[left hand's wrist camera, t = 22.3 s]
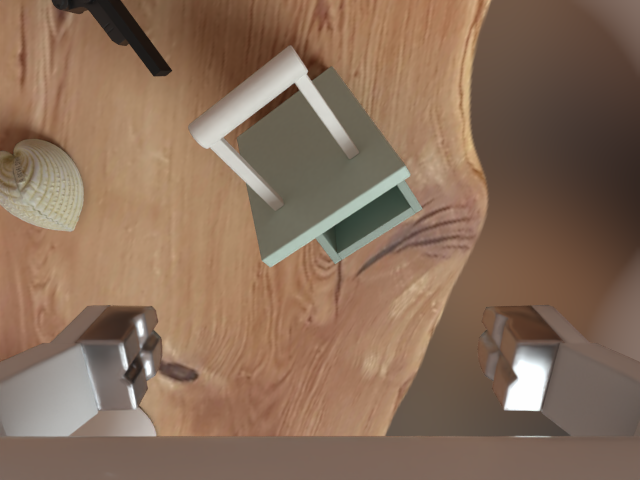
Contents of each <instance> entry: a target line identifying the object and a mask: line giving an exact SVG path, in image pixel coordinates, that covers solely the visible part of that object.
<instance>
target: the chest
mask: <svg viewBox="0 0 640 480" xmlns="http://www.w3.org/2000/svg"><path fill="white" fill-rule="evenodd" d="M421 209H422V207H421V205H420V204H419V202H418V201H417V199H416V197H415V196H414V194H413V193H412V191H411V190H410V188H409V186H408V185H407V183H406V182H405V180H403V181H402V182H400V183H399V184H397V185H396V186H394V187H393V188H391V189H390V190H388V191H387V192H385V193H383V194H382V195H380V196H379V197H377V198H376V199H374V200H373V201H371V202H370V203H368V204H367V205H365V206H364V207H362V208H361V209H359V210H358V211H356V212H354V213H353V214H351V215H350V216H348V217H347V218H345V219H344V220H342V221H341V222H339V223H338V224H336V225H335V226H333V227H332V228H330V229H328V230H327V231H325V232H324V233H322V234H321V235H319V236H318V237H316V240H317V241H318V242H319V243H320V245H321V246H322V247H323V249H324V250H325V251H326V253H327V254H328V255H329V257H330V258H331V259H332V261H333V262H334V263H335V264H336V263H337V262H339V261H340V260H341V259H344V258H345V257H347V256H348V255H350V254H352V253H353V252H355V251H356V250H358V249H360V248H361V247H363V246H364V245H366V244H368V243H369V242H371V241H372V240H374V239H375V238H377V237H379V236H380V235H382V234H383V233H385V232H387V231H388V230H390V229H391V228H393V227H395V226H396V225H398V224H399V223H401V222H402V221H404V220H406V219H407V218H409V217H410V216H412V215H414V214H415V213H417V212H418V211H420V210H421Z"/></svg>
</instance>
